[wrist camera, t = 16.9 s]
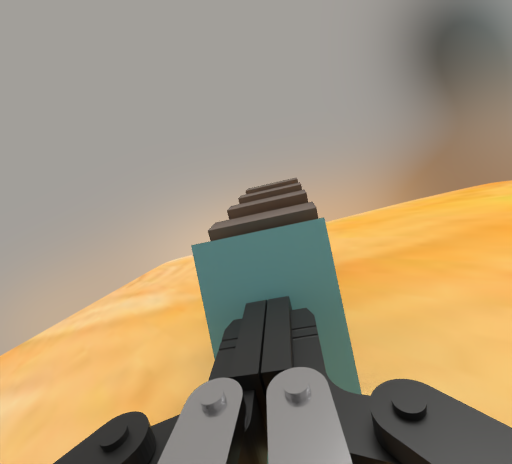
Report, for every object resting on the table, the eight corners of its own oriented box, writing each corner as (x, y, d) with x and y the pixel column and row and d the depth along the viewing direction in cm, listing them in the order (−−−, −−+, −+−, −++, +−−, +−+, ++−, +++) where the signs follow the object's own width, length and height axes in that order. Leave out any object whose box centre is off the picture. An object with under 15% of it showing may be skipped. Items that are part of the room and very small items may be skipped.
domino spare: (383, 496, 10) (324, 217, 10) (245, 508, 11) (191, 245, 11) (371, 460, 12) (320, 218, 12) (251, 472, 12) (204, 243, 13)
